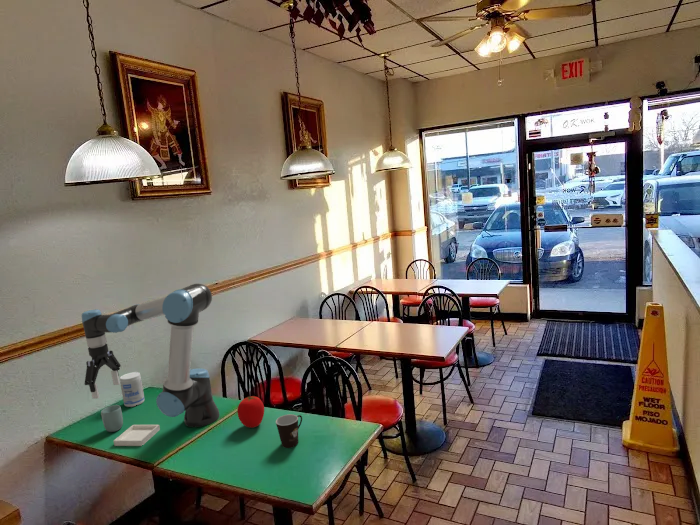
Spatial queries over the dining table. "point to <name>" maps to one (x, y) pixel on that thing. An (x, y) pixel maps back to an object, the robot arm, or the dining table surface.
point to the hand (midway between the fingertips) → (106, 391)
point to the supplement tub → (132, 389)
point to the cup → (112, 418)
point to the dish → (136, 435)
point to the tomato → (251, 411)
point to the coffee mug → (288, 430)
